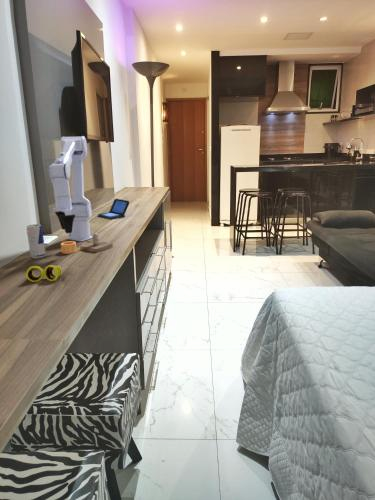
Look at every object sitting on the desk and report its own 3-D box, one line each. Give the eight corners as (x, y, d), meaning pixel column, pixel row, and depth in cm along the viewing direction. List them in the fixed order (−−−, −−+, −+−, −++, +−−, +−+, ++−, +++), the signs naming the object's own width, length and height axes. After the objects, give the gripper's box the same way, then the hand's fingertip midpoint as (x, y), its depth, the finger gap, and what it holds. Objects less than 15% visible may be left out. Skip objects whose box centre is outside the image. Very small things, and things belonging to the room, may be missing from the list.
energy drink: (49, 255, 139) (44, 224, 136) (39, 259, 135) (34, 227, 131) (37, 254, 141) (33, 223, 138) (27, 258, 136) (22, 226, 133)
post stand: (80, 249, 145) (78, 234, 144) (96, 244, 153) (95, 230, 151) (96, 252, 141) (95, 237, 139) (112, 246, 148) (111, 232, 146)
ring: (58, 252, 142) (57, 243, 141) (70, 248, 147) (69, 240, 146) (68, 254, 140) (67, 245, 139) (79, 250, 144) (78, 242, 143)
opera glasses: (63, 278, 117) (62, 263, 117) (58, 281, 112) (57, 265, 111) (32, 280, 116) (31, 264, 116) (26, 283, 111) (25, 266, 111)
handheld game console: (97, 216, 214) (95, 201, 212) (116, 213, 223) (115, 198, 220) (111, 220, 203) (110, 203, 201) (131, 216, 212) (130, 200, 209)
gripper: (48, 194, 141) (53, 228, 145) (54, 199, 129) (59, 236, 133) (67, 193, 145) (71, 226, 148) (74, 197, 132) (79, 233, 136)
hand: (66, 230), depth 141 cm, fingers open, 7 cm apart
